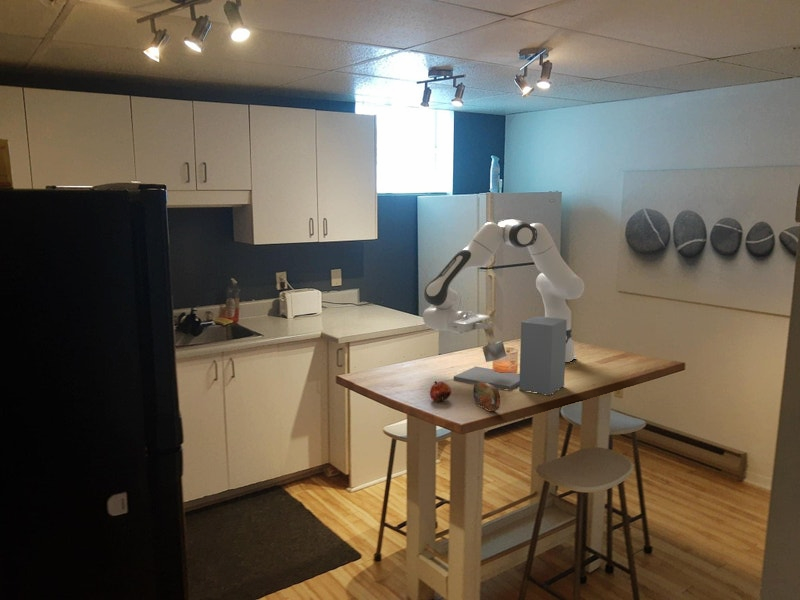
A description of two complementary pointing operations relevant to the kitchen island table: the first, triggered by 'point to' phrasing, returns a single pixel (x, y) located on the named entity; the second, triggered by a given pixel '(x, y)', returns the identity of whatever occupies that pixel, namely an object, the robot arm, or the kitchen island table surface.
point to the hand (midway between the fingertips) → (490, 325)
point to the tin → (486, 396)
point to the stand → (542, 354)
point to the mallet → (492, 345)
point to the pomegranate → (440, 391)
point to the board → (489, 377)
